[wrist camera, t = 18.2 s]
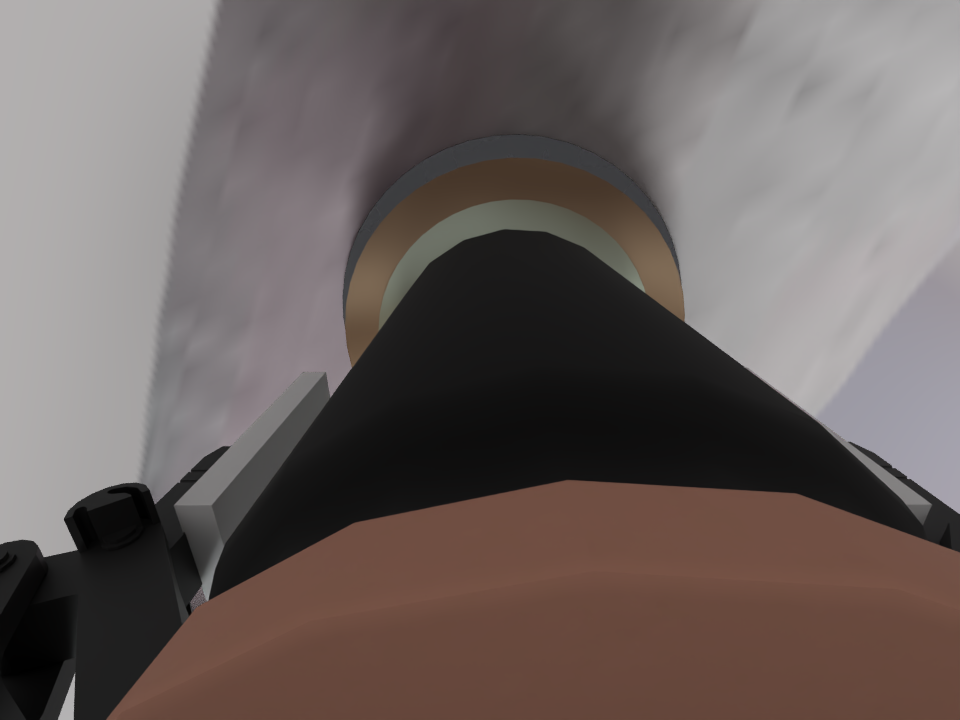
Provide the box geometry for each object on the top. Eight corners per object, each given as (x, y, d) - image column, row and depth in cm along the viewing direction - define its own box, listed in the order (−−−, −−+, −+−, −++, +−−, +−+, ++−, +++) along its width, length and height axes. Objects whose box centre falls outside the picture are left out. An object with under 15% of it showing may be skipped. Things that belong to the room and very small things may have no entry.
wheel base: (475, 503, 29) (474, 516, 28) (276, 282, 24) (265, 287, 23) (735, 353, 25) (746, 361, 24) (560, 44, 20) (564, 37, 19)
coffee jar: (417, 449, 23) (235, 1131, 7) (379, 238, 19) (-313, 624, 3) (626, 433, 23) (1001, 1141, 6) (631, 212, 19) (1775, 502, 2)
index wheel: (646, 446, 27) (716, 568, 18) (381, 451, 27) (332, 572, 19) (679, 152, 21) (806, 135, 12) (340, 167, 21) (243, 160, 13)
